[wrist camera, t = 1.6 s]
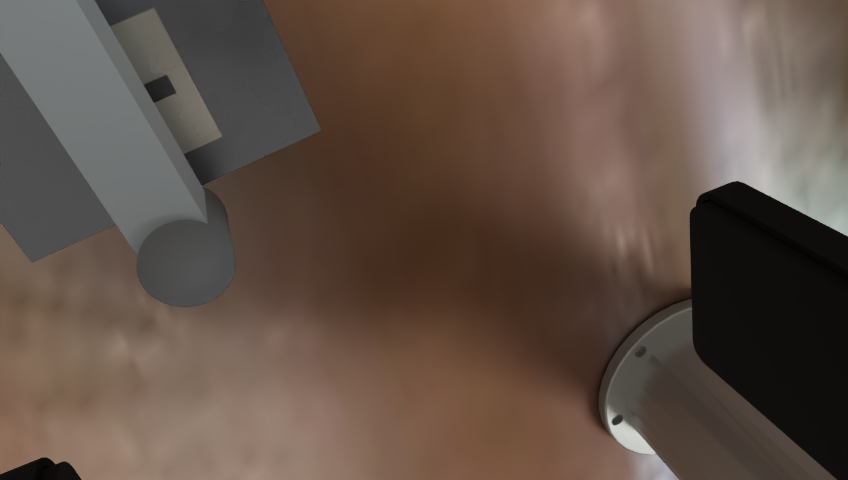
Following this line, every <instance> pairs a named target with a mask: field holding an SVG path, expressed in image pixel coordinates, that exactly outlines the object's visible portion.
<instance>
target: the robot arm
mask: <svg viewBox="0 0 848 480" xmlns="http://www.w3.org/2000/svg"><path fill="white" fill-rule="evenodd" d="M690 250H691V292H692V299H689V300H686V301H683V302H680V303H677V304H674V305H671V306H670V307H668V308H666V309H664V310H662V311H660V312H658V313H656V314H655V315H653V316H652V317H651V318H649V319H648V320H646V321H645V322H644V323H642V324H641V325H640V326H639V327H638V328H637V329H636V330H635V331H633V332H632V333H631V334H630V335H629V336H628V337H627V339H626V340H625V341H624V342H623V344H622V345H621V346H620V347H619V348H618V350H617V351H616V353H615V355H614V356H613V358H612V360H611V361H610V363H609V365H608V367H607V369H606V372H605V374H604V376H603V379H602V383H601V387H600V392H599V412H600V416H601V420H602V422H603V424H604V426H605V428H606V430H607V431H608V432H609V433H610V435H611V436H612V437H613V438H614V440H615V441H616V442H617V443H619V444H620V445H621V446H622V447H624V448H625V449H627V450H630V451H632V452H635V453H640V454H646V455H658V456H659V457H660V458H661V459H662V461H663V462H664V463H665V464H666V465H667V466H668V467H669V469H670V470H671V471H672V472H673V473H674V474H675V476H676V477H677V478H678V479H679V480H848V236H846V235H844V234H842V233H840V232H838V231H836V230H834V229H832V228H830V227H828V226H826V225H824V224H822V223H820V222H818V221H816V220H815V219H813V218H811V217H809V216H807V215H805V214H803V213H801V212H799V211H797V210H795V209H793V208H791V207H789V206H787V205H785V204H783V203H781V202H780V201H778V200H776V199H774V198H772V197H770V196H768V195H766V194H764V193H762V192H760V191H758V190H756V189H754V188H752V187H750V186H748V185H746V184H744V183H742V182H739V181H736V182H731V183H728V184H726V185H723V186H721V187H718V188H716V189H713V190H711V191H708V192H706V193H703V194H702V195H700V196H699V198H698V200H697V202H696V207H694V208H693V209H692V210H691V212H690ZM0 480H81V478H80V477H79V475H78V474H77V473H76V471H75V470H74V468H73V467H72V466H71V465H70V464H69V463H67V462H61V463H58V464H56V465H55V464H54V462H53V461H52V460H50V459H48V458H40V459H38V460H35V461H33V462H30V463H28V464H25V465H23V466H20V467H18V468H15V469H13V470H10V471H8V472H5V473H3V474H0Z"/></svg>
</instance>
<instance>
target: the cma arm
mask: <svg viewBox="0 0 848 480" xmlns="http://www.w3.org/2000/svg"><path fill="white" fill-rule="evenodd" d="M0 53H1V54H2V56H3V57H4V59H5V60H6V62H7V63H8V65H9V66H10V68H11V69H12V71H13V72H14V74H15V75H16V77H17V78H18V80H19V81H20V83H21V84H22V86H23V87H24V89H25V90H26V92H27V93H28V95H29V96H30V97H31V99H32V100H33V102H34V103H35V105H36V106H37V108H38V109H39V111H40V112H41V114H42V115H43V117H44V118H45V120H46V121H47V123H48V124H49V126H50V127H51V129H52V130H53V132H54V133H55V135H56V136H57V138H58V139H59V141H60V142H61V144H62V145H63V146H64V148H65V149H66V151H67V152H68V154H69V155H70V157H71V158H72V160H73V161H74V163H75V164H76V166H77V167H78V169H79V170H80V172H81V173H82V175H83V176H84V178H85V179H86V181H87V182H88V184H89V185H90V187H91V188H92V190H93V191H94V193H95V194H96V196H97V197H98V198H99V200H100V201H101V203H102V204H103V206H104V207H105V209H106V210H107V212H108V213H109V215H110V216H111V218H112V219H113V221H114V222H115V224H116V225H117V227H118V228H119V230H120V231H121V233H122V234H123V236H124V237H125V239H126V240H127V242H128V243H129V245H130V246H131V247H132V249H133V250H134V252H135V253H136V255H137V256H138V257H137V273H138V277H139V280H140V282H141V284H142V286H143V287H144V288H145V290H146V291H147V292H148V293H149V294H150V295H151V296H153V297H154V298H155V299H157V300H159V301H161V302H163V303H165V304H168V305H172V306H178V307H192V306H198V305H202V304H205V303H207V302H210V301H211V300H213V299H215V298H216V297H218V296H219V295H220V294H221V293H223V292H224V291H225V289H226V288H227V287H228V286H229V284H230V282H231V280H232V278H233V275H234V272H235V257H234V251H233V245H232V240H231V234H230V229H229V223H228V217H227V213H226V209H225V207H224V205H223V203H222V202H221V200H220V199H219V198H218V197H217V196H216V195H215V194H214V193H213V192H211V191H210V190H208V189H206V188H204V187H202V186H201V184H200V182H199V180H198V179H197V177H196V175H195V174H194V172H193V170H192V168H191V167H190V165H189V163H188V161H187V160H186V158H185V156H184V154H183V153H182V151H181V149H180V148H179V146H178V144H177V142H176V141H175V139H174V137H173V135H172V134H171V132H170V130H169V128H168V127H167V125H166V123H165V121H164V120H163V118H162V116H161V115H160V113H159V111H158V109H157V108H156V106H155V104H154V102H153V101H152V99H151V97H150V95H149V94H148V92H147V90H146V89H145V87H144V85H143V83H142V82H141V80H140V78H139V76H138V75H137V73H136V71H135V69H134V68H133V66H132V64H131V63H130V61H129V59H128V57H127V56H126V54H125V52H124V50H123V49H122V47H121V45H120V43H119V42H118V40H117V38H116V37H115V35H114V33H113V31H112V30H111V28H110V26H109V24H108V23H107V21H106V19H105V17H104V16H103V14H102V12H101V11H100V9H99V7H98V5H97V4H96V2H95V0H0Z"/></svg>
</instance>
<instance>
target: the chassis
mask: <svg viewBox="0 0 848 480" xmlns="http://www.w3.org/2000/svg"><path fill="white" fill-rule="evenodd" d="M95 2H96V4H97V5H98V7H99V9H100V11H101V12H102V14H103V16H104V17H105V19H106V21H107V23H108V24H109V26H110V28H111V30H112V31H113V33H114V35H115V37H116V38H117V40H118V42H119V43H120V45H121V47H122V49H123V50H124V52H125V54H126V56H127V57H128V59H129V61H130V63H131V64H132V66H133V68H134V69H135V71H136V73H137V75H138V76H139V78H140V80H141V82H142V83H143V85H144V87H145V89H146V90H147V92H148V94H149V95H150V97H151V99H152V101H153V102H154V104H155V106H156V108H157V109H158V111H159V113H160V115H161V116H162V118H163V120H164V121H165V123H166V125H167V127H168V128H169V130H170V132H171V134H172V135H173V137H174V139H175V141H176V142H177V144H178V146H179V148H180V149H181V151H182V153H183V154H184V156H185V158H186V160H187V161H188V163H189V165H190V167H191V168H192V170H193V172H194V174H195V175H196V177H197V179H198V180H199V182H200V184H201V185H203V184H206V183H208V182H210V181H212V180H214V179H217V178H219V177H221V176H223V175H225V174H228V173H230V172H232V171H234V170H236V169H239V168H241V167H243V166H245V165H247V164H250V163H252V162H254V161H256V160H258V159H261V158H263V157H265V156H267V155H269V154H272V153H274V152H276V151H278V150H280V149H283V148H285V147H287V146H289V145H291V144H294V143H296V142H298V141H300V140H302V139H305V138H307V137H309V136H311V135H313V134H316V133H318V132H320V131H321V128H320V126H319V124H318V122H317V120H316V117H315V115H314V113H313V111H312V108H311V106H310V104H309V102H308V100H307V97H306V95H305V93H304V91H303V89H302V86H301V84H300V82H299V80H298V77H297V75H296V73H295V71H294V69H293V66H292V64H291V62H290V60H289V58H288V55H287V53H286V51H285V49H284V46H283V44H282V42H281V40H280V38H279V35H278V33H277V31H276V29H275V26H274V24H273V22H272V20H271V18H270V15H269V13H268V11H267V9H266V7H265V4H264V2H263V0H95ZM0 222H1V223H2V225H3V226H4V227H5V228H6V230H7V231H8V232H9V234H10V235H11V236H12V237H13V239H14V240H15V241H16V243H17V244H18V245H19V246H20V248H21V249H22V250H23V252H24V253H25V254H26V256H27V257H28V258H29V259H30V261H31V262H34V261H36V260H39V259H41V258H43V257H45V256H47V255H50V254H52V253H54V252H56V251H58V250H61V249H63V248H65V247H67V246H69V245H72V244H74V243H76V242H78V241H80V240H83V239H85V238H87V237H89V236H91V235H94V234H96V233H98V232H100V231H102V230H105V229H107V228H109V227H111V226H113V225H116V224H115V222H114V221H113V219H112V218H111V216H110V215H109V213H108V212H107V210H106V209H105V207H104V206H103V204H102V203H101V201H100V200H99V198H98V197H97V196H96V194H95V193H94V191H93V190H92V188H91V187H90V185H89V184H88V182H87V181H86V179H85V178H84V176H83V175H82V173H81V172H80V170H79V169H78V167H77V166H76V164H75V163H74V161H73V160H72V158H71V157H70V155H69V154H68V152H67V151H66V149H65V148H64V146H63V145H62V144H61V142H60V141H59V139H58V138H57V136H56V135H55V133H54V132H53V130H52V129H51V127H50V126H49V124H48V123H47V121H46V120H45V118H44V117H43V115H42V114H41V112H40V111H39V109H38V108H37V106H36V105H35V103H34V102H33V100H32V99H31V97H30V96H29V95H28V93H27V92H26V90H25V89H24V87H23V86H22V84H21V83H20V81H19V80H18V78H17V77H16V75H15V74H14V72H13V71H12V69H11V68H10V66H9V65H8V63H7V62H6V60H5V59H4V57H3V56H2V54H1V53H0Z"/></svg>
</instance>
